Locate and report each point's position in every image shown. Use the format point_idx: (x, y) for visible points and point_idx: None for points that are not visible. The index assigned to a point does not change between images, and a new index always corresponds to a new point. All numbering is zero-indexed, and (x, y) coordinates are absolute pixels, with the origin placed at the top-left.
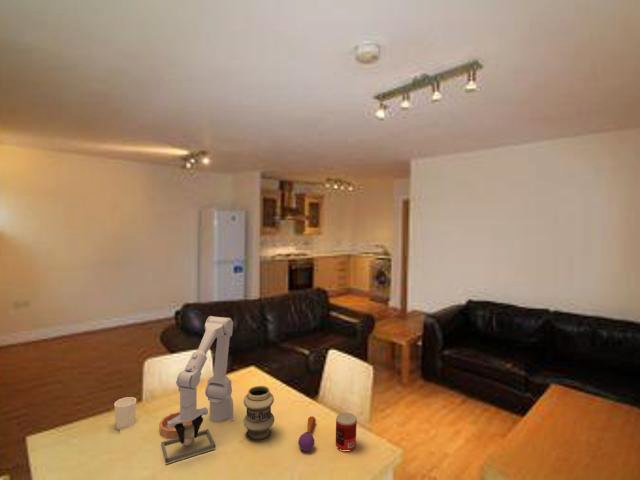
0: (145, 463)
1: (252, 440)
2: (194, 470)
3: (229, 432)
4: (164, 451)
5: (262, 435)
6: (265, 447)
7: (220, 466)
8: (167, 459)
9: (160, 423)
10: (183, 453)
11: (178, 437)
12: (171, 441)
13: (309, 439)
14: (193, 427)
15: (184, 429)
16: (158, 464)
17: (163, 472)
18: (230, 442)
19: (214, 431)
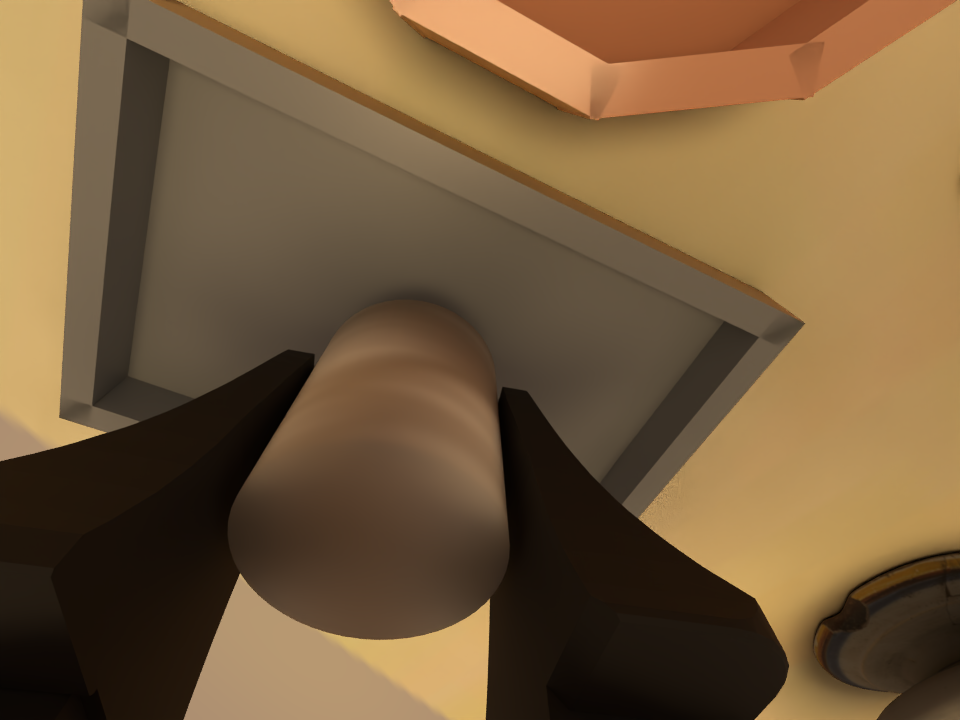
0: None
1: (816, 647)
2: None
3: (884, 444)
4: (78, 274)
5: (890, 691)
6: (774, 713)
7: (456, 654)
8: (83, 421)
9: None
10: None
11: (395, 123)
12: (267, 102)
13: None
14: (444, 620)
15: (178, 716)
16: (42, 299)
17: (68, 434)
18: (729, 547)
19: (854, 303)
